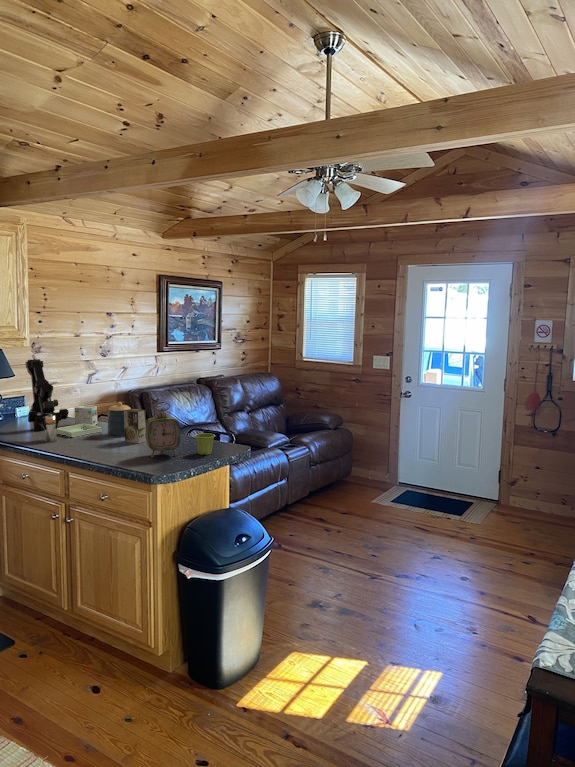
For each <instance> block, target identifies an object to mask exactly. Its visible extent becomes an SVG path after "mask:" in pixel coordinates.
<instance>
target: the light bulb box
mask: <svg viewBox="0 0 575 767" xmlns="http://www.w3.org/2000/svg"><path fill="white" fill-rule="evenodd" d="M97 407H98V406H96V405H95V406H94V405H92V406H91V405H79V406H75V407H74V425H78V424H89V425H94V426H97V425H98V409H97ZM96 424H97V425H96Z"/></svg>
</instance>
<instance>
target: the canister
mask: <svg viewBox="0 0 575 767" xmlns="http://www.w3.org/2000/svg"><path fill="white" fill-rule="evenodd" d="M129 409H132V408H131V407H130V406H129V405H127V404H123V403H122V402H121V401H118V402H117V403H116V405H115V404H114V405H111V406H110V407H109V408H108V412H106V414H107V420H106V421H107V435H108V437H109V436H110V437H112V436H113V438H118V437H119V438H121V437H123V438H125V426H124V411H125V410H129Z"/></svg>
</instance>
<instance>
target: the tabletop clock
mask: <svg viewBox="0 0 575 767" xmlns="http://www.w3.org/2000/svg"><path fill="white" fill-rule="evenodd" d="M160 404H161V405H162V404H166V405H168V408H165V409H164V407H161V408H160V409H158V408H157V406H158V405H160ZM169 409H171V405H170V403H168V402H166V401H158V402H157V403H155V405H154V410H156V411H157V412H158V413H156V416H153V417H149V418H148V419H146V431H145V434H146V441H145V442H146V443H147V446H148V447H149V449H150V450H152V454H150V458H152V459H153V458H154V457H155V455H154V454H155V451H156V452H157V451H158V452H159V451H160V452H159V454H160V455H161V456H162V455H164V451H169V450H172V452H173V456H175V457H176V456H178V452H177V451H176V450H175V449H177V448H179V445H180V443H181V427H180V422H179V420H178V419H177V418H175V417H174V416H171V415H170V416H169V415H168V413H167V412H166V411H168V410H169Z"/></svg>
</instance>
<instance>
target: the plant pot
mask: <svg viewBox="0 0 575 767" xmlns="http://www.w3.org/2000/svg"><path fill="white" fill-rule="evenodd" d="M215 437H216V435H215V434H214V433H205V432H202V433H197V434H194V438H195V441H196V446H197V447H196V448H197V454H199V455H200V456H202V455H206V456H208V455H211V454H212V450H213V444H214V440H215V439H214V438H215Z"/></svg>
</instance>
